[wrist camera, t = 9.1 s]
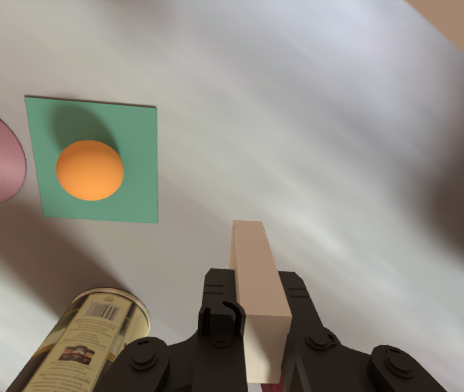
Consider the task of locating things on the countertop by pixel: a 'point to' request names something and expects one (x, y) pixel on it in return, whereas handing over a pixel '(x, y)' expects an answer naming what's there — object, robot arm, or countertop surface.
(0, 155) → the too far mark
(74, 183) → the ball
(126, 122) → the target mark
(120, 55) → the countertop surface
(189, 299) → the countertop surface
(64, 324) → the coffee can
